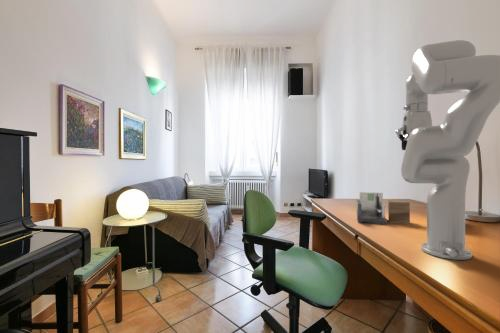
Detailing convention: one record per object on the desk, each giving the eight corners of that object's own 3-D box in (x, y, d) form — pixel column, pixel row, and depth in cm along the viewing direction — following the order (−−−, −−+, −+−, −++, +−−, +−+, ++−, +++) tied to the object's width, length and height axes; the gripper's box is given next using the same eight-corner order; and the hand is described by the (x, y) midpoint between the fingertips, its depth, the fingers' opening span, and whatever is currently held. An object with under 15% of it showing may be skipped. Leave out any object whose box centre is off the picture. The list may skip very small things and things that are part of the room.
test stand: (386, 224, 113) (386, 196, 112) (358, 222, 117) (357, 195, 116) (382, 218, 124) (382, 192, 123) (356, 217, 128) (356, 192, 128)
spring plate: (384, 219, 114) (384, 206, 114) (378, 218, 115) (378, 206, 115) (382, 215, 122) (382, 203, 122) (376, 214, 123) (376, 203, 123)
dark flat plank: (379, 216, 121) (379, 196, 121) (377, 216, 121) (377, 196, 121) (378, 216, 123) (378, 196, 122) (376, 215, 123) (376, 196, 123)
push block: (409, 223, 113) (409, 202, 112) (390, 222, 116) (389, 201, 115) (407, 221, 116) (407, 200, 116) (388, 220, 119) (388, 200, 119)
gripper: (402, 107, 99) (401, 150, 100) (444, 106, 99) (443, 148, 100) (390, 111, 107) (390, 150, 108) (430, 109, 107) (429, 149, 108)
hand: (416, 149), depth 104 cm, fingers open, 9 cm apart
